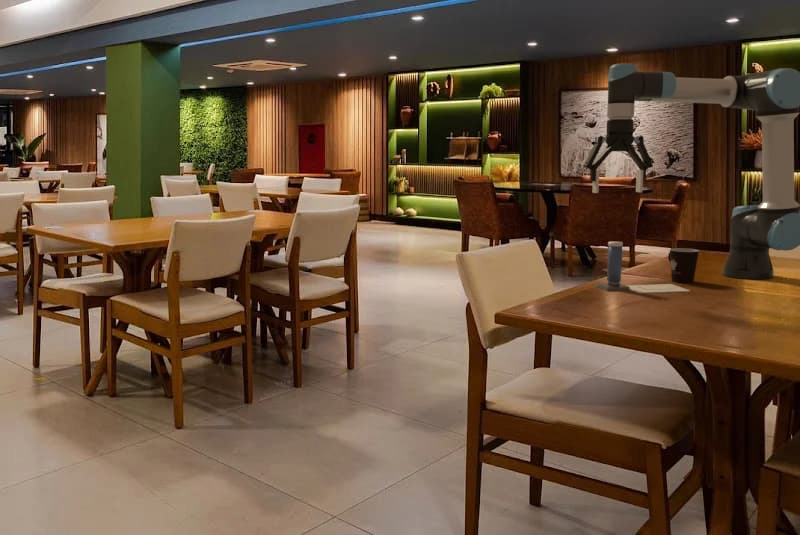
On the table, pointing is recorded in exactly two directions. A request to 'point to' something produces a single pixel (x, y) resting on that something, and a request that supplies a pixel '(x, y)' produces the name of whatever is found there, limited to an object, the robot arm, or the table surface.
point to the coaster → (613, 287)
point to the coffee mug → (683, 264)
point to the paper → (657, 288)
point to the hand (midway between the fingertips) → (617, 192)
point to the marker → (614, 263)
